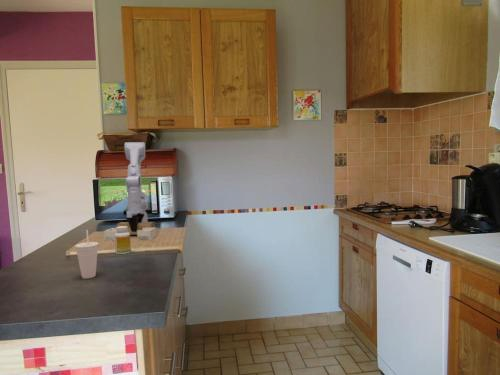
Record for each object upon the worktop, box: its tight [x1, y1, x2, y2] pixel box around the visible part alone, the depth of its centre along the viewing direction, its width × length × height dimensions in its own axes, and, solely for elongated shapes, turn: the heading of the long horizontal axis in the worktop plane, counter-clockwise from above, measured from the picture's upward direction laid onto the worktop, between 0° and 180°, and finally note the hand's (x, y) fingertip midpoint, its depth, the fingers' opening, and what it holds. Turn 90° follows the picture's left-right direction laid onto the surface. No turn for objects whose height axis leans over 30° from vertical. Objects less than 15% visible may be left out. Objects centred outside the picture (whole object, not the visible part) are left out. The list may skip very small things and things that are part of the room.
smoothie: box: [74, 229, 100, 280], centre depth 102 cm, size 6×6×14 cm
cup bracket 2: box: [136, 227, 157, 241], centre depth 154 cm, size 7×6×4 cm
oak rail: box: [116, 221, 155, 236], centre depth 161 cm, size 4×16×5 cm, turn 87°
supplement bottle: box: [114, 226, 132, 255], centre depth 130 cm, size 5×5×10 cm
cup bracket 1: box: [103, 227, 117, 241], centre depth 155 cm, size 7×6×4 cm
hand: (136, 230), depth 161 cm, fingers closed on oak rail, 4 cm apart
